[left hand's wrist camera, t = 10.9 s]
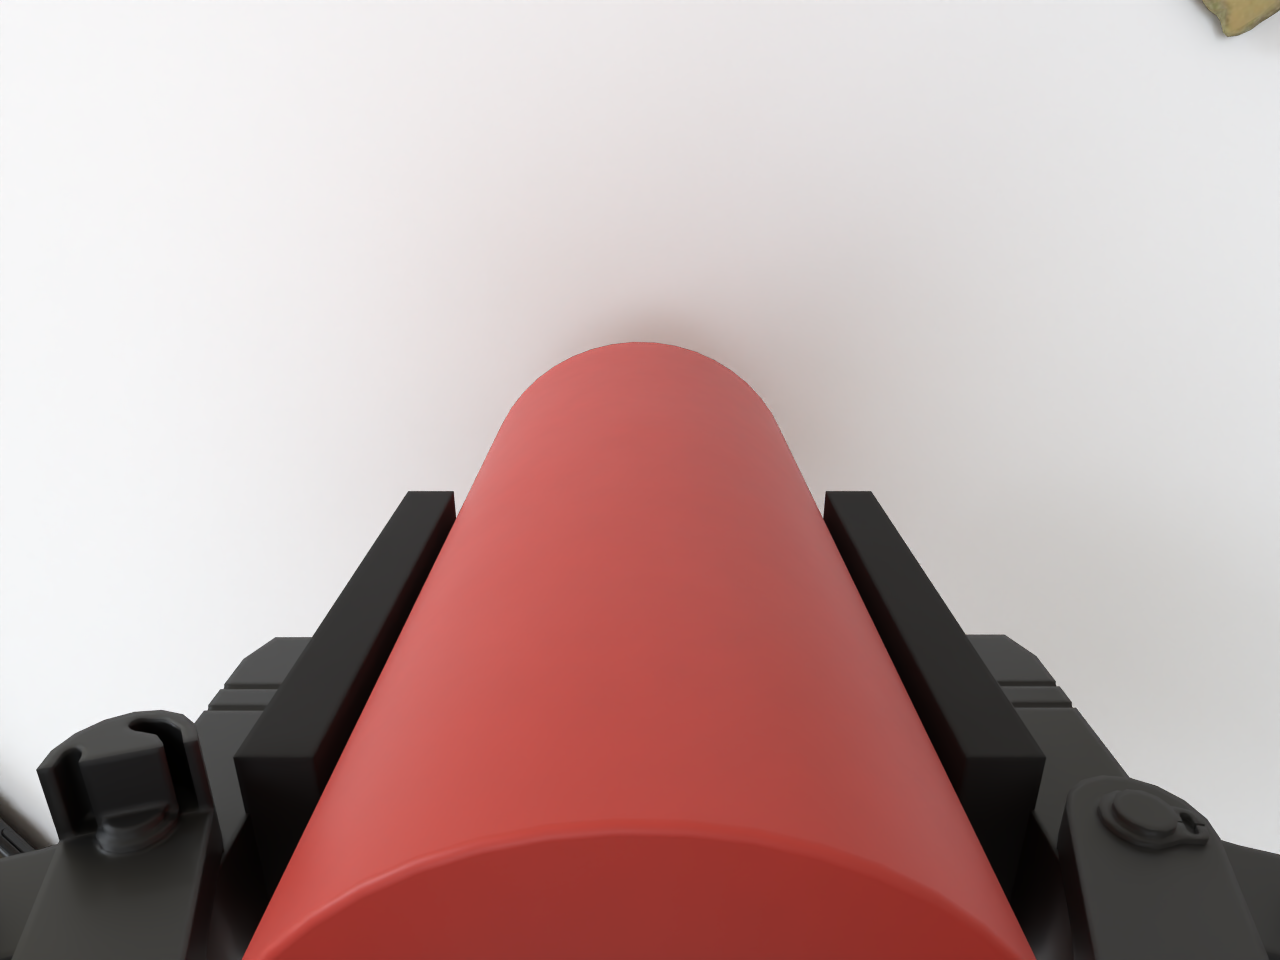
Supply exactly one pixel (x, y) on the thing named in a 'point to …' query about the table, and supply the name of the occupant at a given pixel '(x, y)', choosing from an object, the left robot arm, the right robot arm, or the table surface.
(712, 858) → the can
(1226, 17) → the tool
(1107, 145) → the table surface
